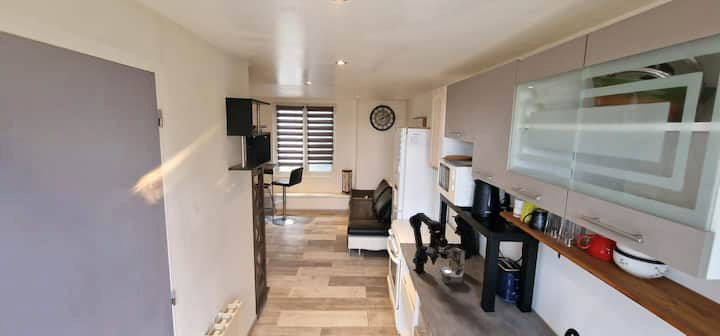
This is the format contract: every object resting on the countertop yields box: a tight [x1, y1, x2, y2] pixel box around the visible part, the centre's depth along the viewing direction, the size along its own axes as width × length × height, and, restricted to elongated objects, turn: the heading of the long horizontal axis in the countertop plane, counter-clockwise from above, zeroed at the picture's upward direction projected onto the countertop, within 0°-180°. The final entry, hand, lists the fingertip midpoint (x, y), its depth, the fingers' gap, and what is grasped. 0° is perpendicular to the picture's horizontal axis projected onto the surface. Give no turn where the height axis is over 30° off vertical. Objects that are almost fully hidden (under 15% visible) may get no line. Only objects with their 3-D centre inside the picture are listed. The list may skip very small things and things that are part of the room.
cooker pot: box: [439, 268, 464, 288], centre depth 193 cm, size 14×17×6 cm
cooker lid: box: [441, 265, 464, 278], centre depth 192 cm, size 14×14×2 cm
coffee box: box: [448, 246, 466, 274], centre depth 205 cm, size 9×6×16 cm
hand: (433, 264), depth 188 cm, fingers closed
